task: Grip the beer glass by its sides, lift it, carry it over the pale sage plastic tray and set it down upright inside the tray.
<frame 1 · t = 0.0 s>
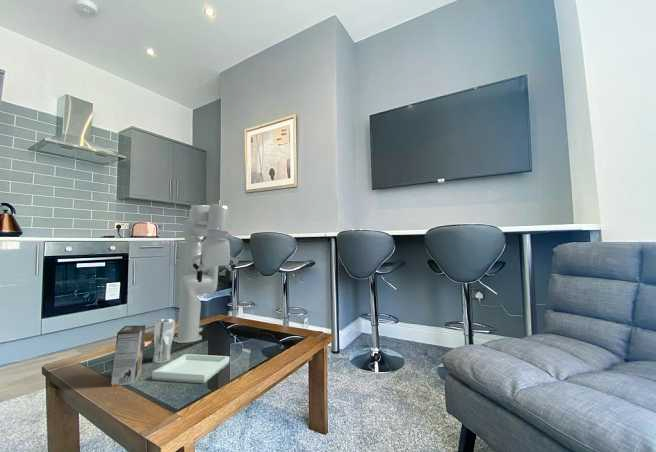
hand: (213, 281, 103), 31 cm above the table, tool pointing down, fingers open, 9 cm apart
tray: (193, 370, 97), on the table
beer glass: (161, 360, 107), on the table
coffee box: (126, 380, 89), on the table
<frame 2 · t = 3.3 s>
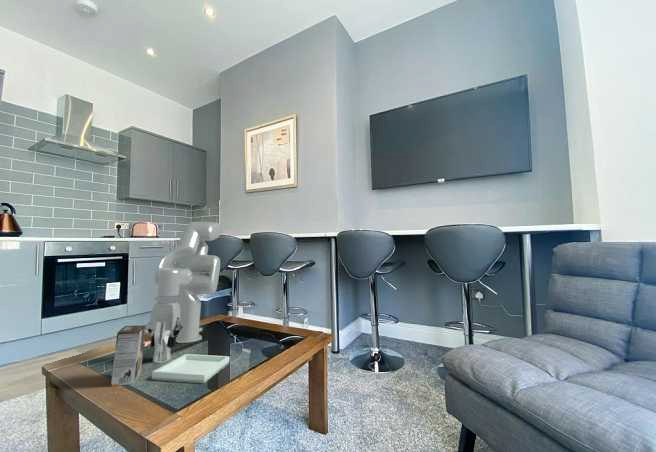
hand: (163, 346, 108), 5 cm above the table, tool pointing down, fingers closed on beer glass, 6 cm apart
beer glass: (161, 360, 107), on the table, touching gripper
everything else where it was.
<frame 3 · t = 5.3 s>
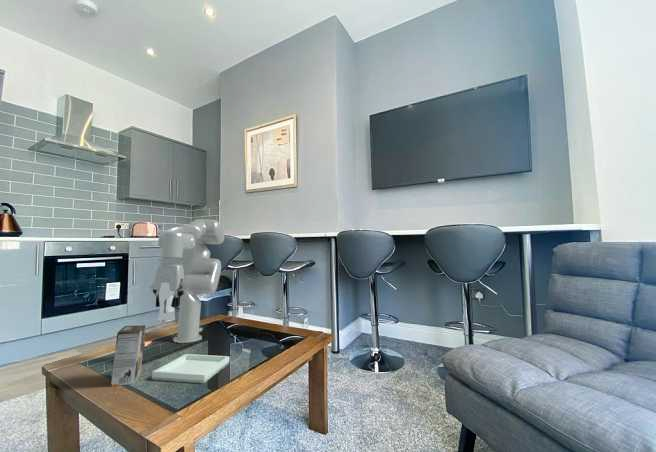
hand: (167, 306, 110), 20 cm above the table, tool pointing down, fingers closed on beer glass, 6 cm apart
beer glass: (166, 320, 110), point 15 cm above the table, touching gripper
everything else where it was.
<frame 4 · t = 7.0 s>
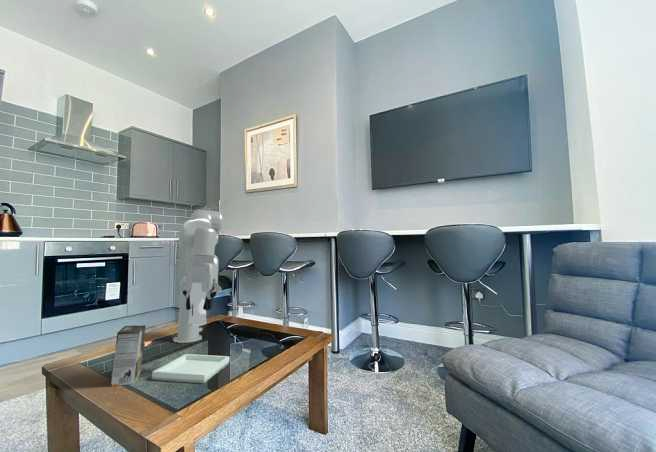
hand: (198, 309, 100), 21 cm above the table, tool pointing down, fingers closed on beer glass, 6 cm apart
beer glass: (197, 324, 100), point 16 cm above the table, touching gripper
everything else where it was.
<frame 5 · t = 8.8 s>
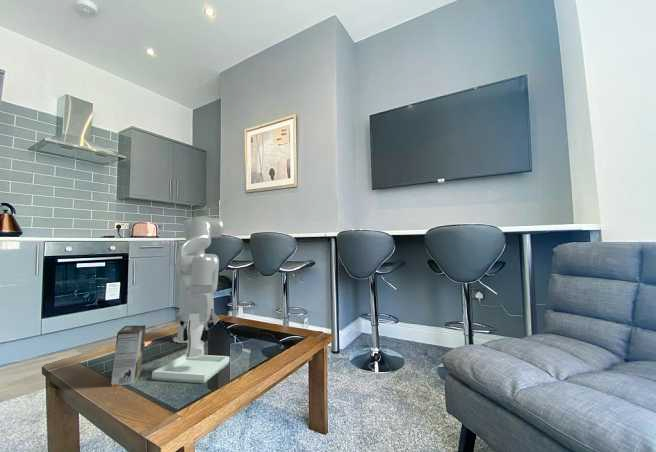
hand: (196, 340, 99), 11 cm above the table, tool pointing down, fingers closed on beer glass, 6 cm apart
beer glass: (194, 355, 98), point 5 cm above the table, touching gripper
everything else where it was.
when the fingers open (7 cm above the table, at t = 10.5 s): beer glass drops 1 cm, resting on tray.
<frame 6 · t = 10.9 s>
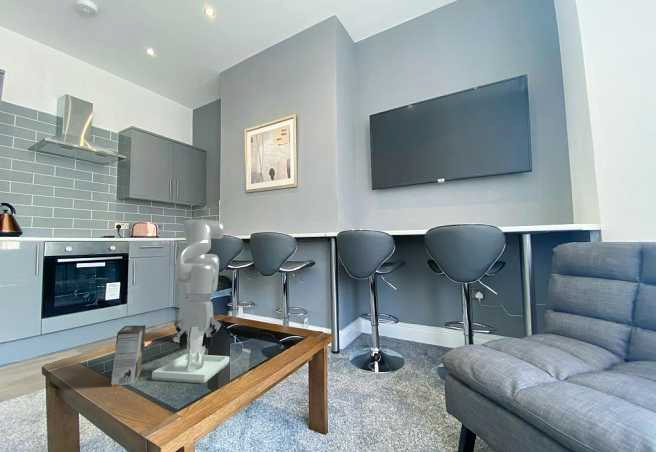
hand: (195, 347, 99), 8 cm above the table, tool pointing down, fingers open, 9 cm apart
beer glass: (194, 369, 98), point 1 cm above the table, touching tray
everything else where it was.
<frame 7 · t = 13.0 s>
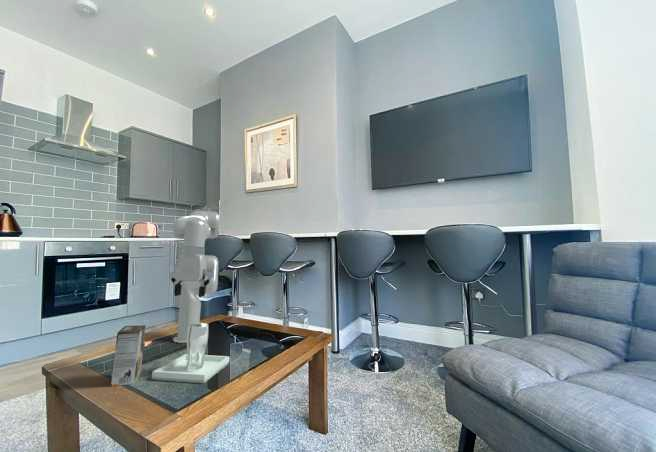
hand: (189, 296, 106), 25 cm above the table, tool pointing down, fingers open, 9 cm apart
nothing on the table moved.
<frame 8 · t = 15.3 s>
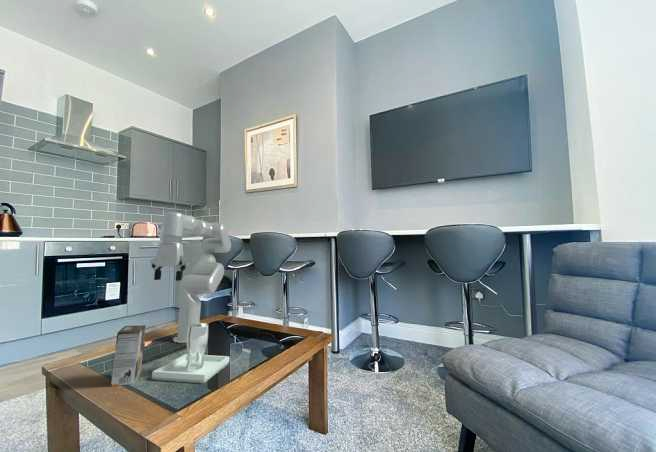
hand: (167, 280, 118), 30 cm above the table, tool pointing down, fingers open, 9 cm apart
nothing on the table moved.
at the end: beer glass inside the target area on the tray (0.4 cm from its centre), point 0.6 cm above the tray's base; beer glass tilted 0°; the gripper is holding nothing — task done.
